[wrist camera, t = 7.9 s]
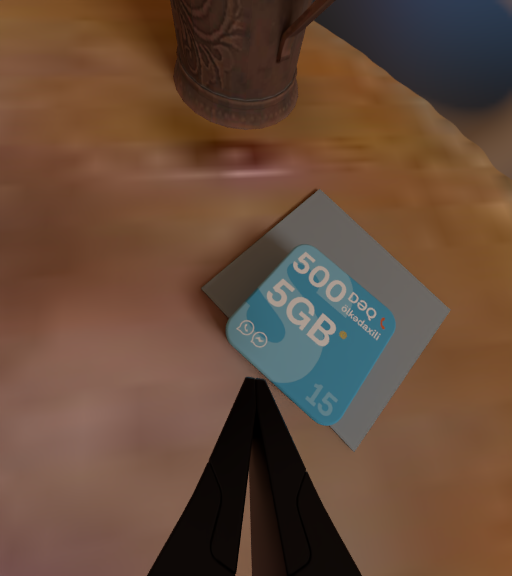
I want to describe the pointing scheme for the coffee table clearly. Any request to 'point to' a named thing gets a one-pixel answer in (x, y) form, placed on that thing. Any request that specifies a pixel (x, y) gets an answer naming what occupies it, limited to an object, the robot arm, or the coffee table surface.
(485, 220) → the coffee table surface
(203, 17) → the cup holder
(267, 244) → the slate rubber mat
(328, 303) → the data package
